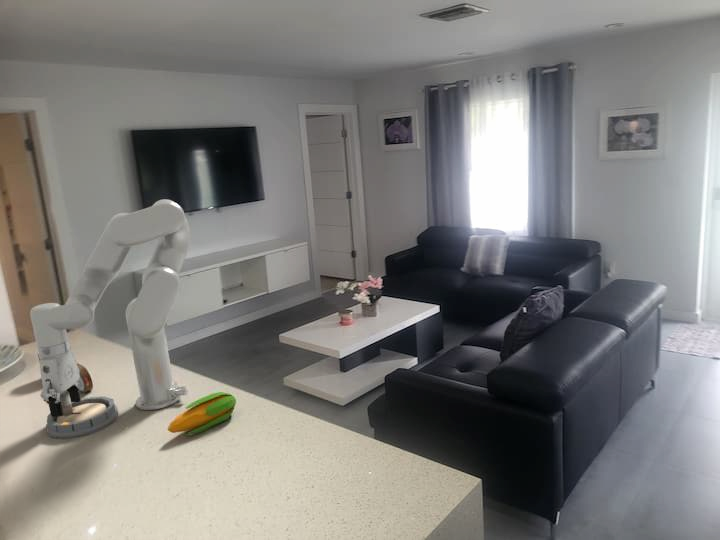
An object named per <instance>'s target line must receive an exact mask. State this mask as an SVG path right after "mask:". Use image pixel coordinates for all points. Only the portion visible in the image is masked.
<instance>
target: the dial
mask: <svg viewBox="0 0 720 540" xmlns="http://www.w3.org/2000/svg"><path fill="white" fill-rule="evenodd" d="M59 402H61V404H62V409H63V416H58V418H57V423H64V422H70V423H74V422H78V421H82V420H86V419H90V418H92V417H94V416H96V415H98V414H100V413H102V412H104V411H105V410H106V406H105V405H104V404H101V403H88V404H83V405H79V406H76V407H73V408H72V404H71V400H70V395H69V392H67V391H65V392H63V393H60V398H59Z"/></svg>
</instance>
